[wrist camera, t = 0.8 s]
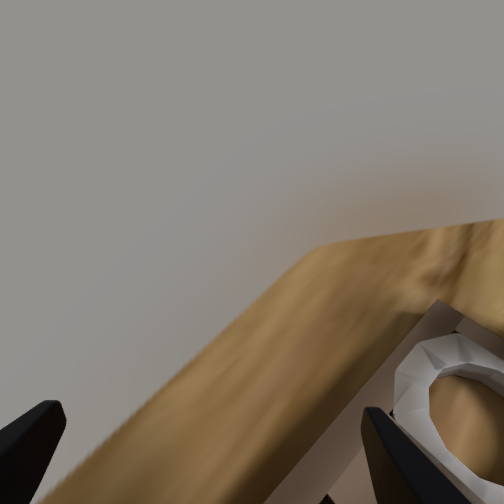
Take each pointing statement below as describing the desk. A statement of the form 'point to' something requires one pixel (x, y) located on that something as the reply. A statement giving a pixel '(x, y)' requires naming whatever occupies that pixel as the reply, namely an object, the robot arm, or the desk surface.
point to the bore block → (402, 413)
